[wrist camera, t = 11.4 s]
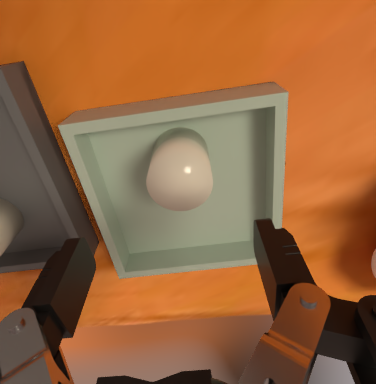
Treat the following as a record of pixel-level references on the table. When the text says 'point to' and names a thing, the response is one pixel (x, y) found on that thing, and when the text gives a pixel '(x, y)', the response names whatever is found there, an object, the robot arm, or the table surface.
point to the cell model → (373, 263)
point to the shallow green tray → (220, 166)
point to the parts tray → (35, 177)
